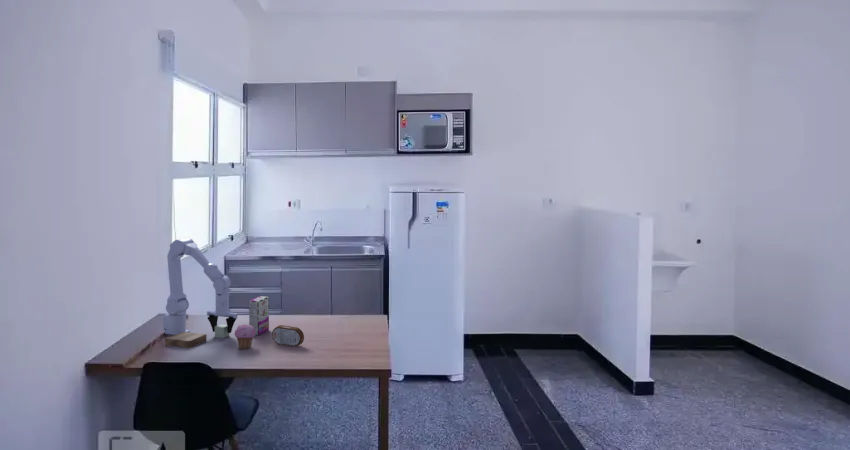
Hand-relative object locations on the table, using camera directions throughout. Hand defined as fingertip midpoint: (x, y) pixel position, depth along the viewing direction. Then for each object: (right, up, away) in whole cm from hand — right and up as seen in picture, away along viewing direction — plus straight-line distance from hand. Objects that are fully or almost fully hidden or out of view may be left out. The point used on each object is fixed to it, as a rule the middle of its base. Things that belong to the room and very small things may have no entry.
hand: (222, 332), depth 280 cm
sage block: (0, -2, 0) cm, 2 cm away
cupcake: (+15, -4, -16) cm, 23 cm away
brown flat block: (-12, -3, -12) cm, 17 cm away
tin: (+32, -4, -10) cm, 34 cm away
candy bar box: (+14, -2, +9) cm, 17 cm away
